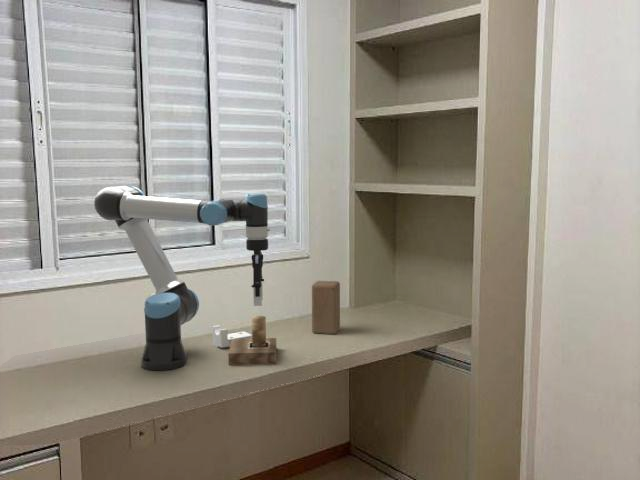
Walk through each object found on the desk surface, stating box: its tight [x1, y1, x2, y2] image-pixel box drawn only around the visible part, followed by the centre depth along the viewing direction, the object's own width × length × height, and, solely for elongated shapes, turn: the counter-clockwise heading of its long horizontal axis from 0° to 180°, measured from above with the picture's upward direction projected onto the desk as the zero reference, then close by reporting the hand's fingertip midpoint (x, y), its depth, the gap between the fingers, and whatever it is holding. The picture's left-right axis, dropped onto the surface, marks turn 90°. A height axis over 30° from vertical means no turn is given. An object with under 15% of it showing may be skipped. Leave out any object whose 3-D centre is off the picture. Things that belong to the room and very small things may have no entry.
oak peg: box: [251, 315, 267, 348], centre depth 220 cm, size 5×5×14 cm
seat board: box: [227, 337, 277, 366], centre depth 220 cm, size 16×18×4 cm
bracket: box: [212, 324, 252, 348], centre depth 235 cm, size 13×7×8 cm, turn 124°
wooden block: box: [311, 280, 341, 335], centre depth 253 cm, size 10×10×20 cm
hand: (258, 302), depth 218 cm, fingers open, 8 cm apart
